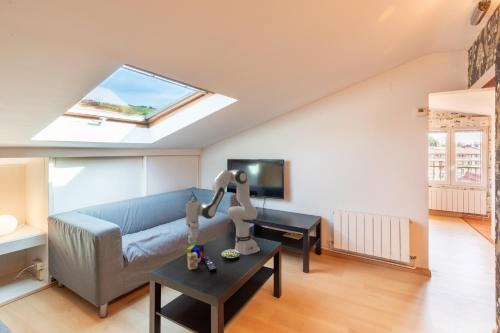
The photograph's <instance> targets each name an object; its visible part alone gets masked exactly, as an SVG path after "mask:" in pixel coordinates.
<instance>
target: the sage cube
mask: <svg viewBox="0 0 500 333" xmlns="http://www.w3.org/2000/svg"><path fill="white" fill-rule="evenodd" d="M187 236H188V237H187V238H188V239H187V240H188V241H187V242H188V243H189V245H192V244H194V245H195V244H197V238H195V242H192V236H191V235H190V234H187Z"/></svg>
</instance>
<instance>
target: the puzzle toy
mask: <svg viewBox="0 0 500 333" xmlns="http://www.w3.org/2000/svg"><path fill="white" fill-rule="evenodd" d="M204 248H205V246H204V245H203V244H195V243H194V244H190V245H189V247H187V248H186V262H188V253H193V252H196V253H197V255H198V262H197V264H198V263H200V262H201V261H202V260H203V259H204V258H203V257H205V253H204V252H205V251H204V250H205V249H204Z"/></svg>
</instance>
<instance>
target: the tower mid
mask: <svg viewBox="0 0 500 333" xmlns="http://www.w3.org/2000/svg"><path fill="white" fill-rule="evenodd" d="M188 261H189V263H193V262H197V263H198V255H197V253H196V252H193V253H188ZM188 261H187V262H188Z"/></svg>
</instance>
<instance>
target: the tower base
mask: <svg viewBox="0 0 500 333" xmlns="http://www.w3.org/2000/svg"><path fill="white" fill-rule="evenodd" d="M187 267H188V270H189V271H191V270H196V269H198V262H193V263H189V261H187Z"/></svg>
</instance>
